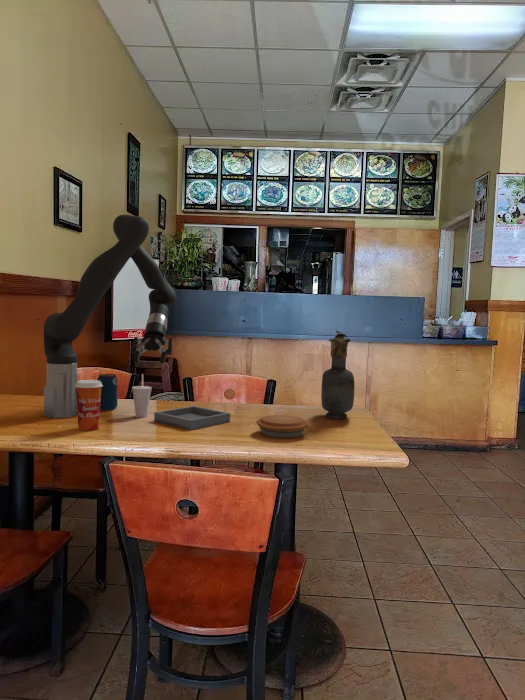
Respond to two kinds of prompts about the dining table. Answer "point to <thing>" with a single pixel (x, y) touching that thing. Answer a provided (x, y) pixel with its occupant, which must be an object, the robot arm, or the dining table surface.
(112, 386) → the soda can
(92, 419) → the paper cup
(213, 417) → the tray
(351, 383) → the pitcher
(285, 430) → the pie
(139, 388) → the smoothie
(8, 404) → the dining table surface
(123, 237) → the robot arm
